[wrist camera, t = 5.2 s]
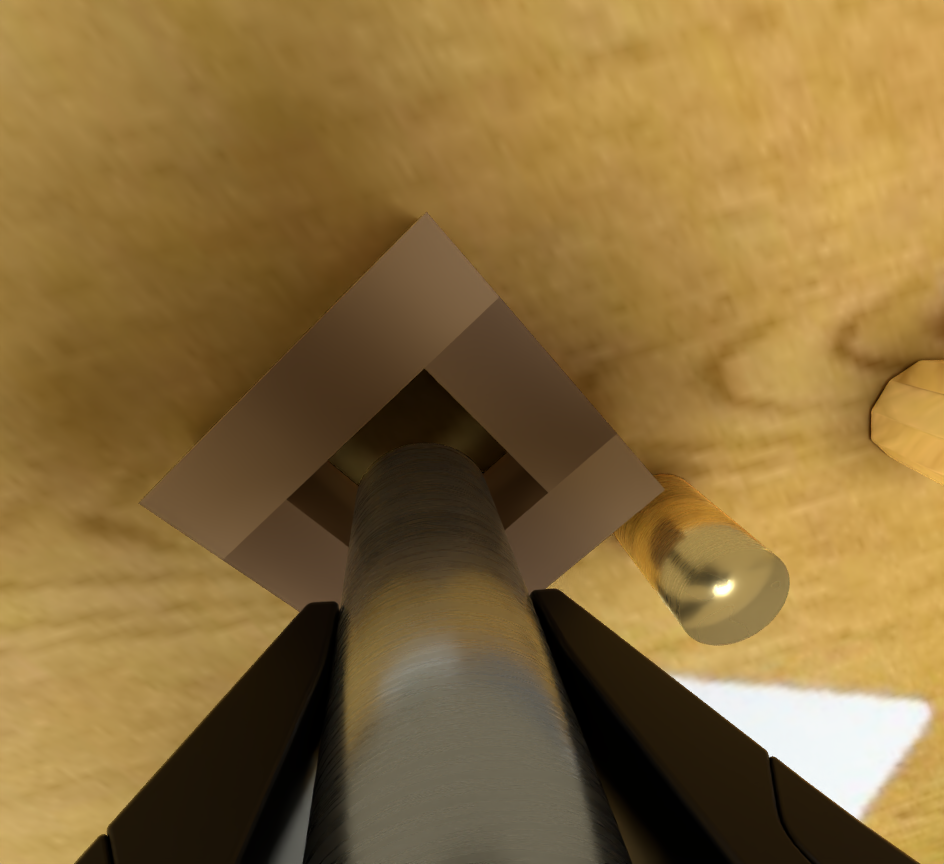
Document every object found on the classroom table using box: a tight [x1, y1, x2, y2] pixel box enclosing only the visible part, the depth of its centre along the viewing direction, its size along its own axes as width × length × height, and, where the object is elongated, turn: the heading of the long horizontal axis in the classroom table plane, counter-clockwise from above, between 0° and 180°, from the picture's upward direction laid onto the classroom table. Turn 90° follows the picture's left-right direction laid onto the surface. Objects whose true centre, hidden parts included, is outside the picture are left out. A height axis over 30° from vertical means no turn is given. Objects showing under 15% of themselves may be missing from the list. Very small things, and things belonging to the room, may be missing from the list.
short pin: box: [614, 474, 790, 645], centre depth 14 cm, size 3×3×4 cm
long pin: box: [303, 443, 632, 864], centre depth 6 cm, size 3×3×9 cm
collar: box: [139, 212, 665, 612], centre depth 12 cm, size 8×8×3 cm
